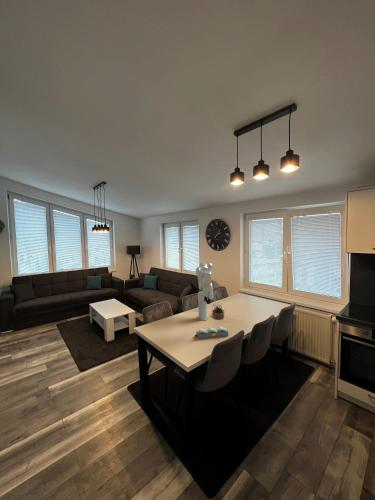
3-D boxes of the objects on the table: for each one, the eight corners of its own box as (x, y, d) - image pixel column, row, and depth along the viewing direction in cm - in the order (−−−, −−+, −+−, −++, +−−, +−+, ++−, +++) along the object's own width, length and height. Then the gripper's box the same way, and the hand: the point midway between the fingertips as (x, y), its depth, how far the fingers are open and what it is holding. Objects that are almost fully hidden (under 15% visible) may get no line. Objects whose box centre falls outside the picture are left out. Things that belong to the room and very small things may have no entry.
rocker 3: (217, 327, 193) (217, 325, 193) (224, 329, 195) (225, 328, 195) (219, 329, 189) (219, 327, 190) (226, 331, 191) (227, 329, 192)
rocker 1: (198, 329, 189) (198, 327, 189) (205, 331, 191) (206, 330, 191) (199, 331, 185) (200, 329, 185) (207, 333, 187) (207, 331, 187)
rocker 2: (207, 328, 191) (208, 326, 191) (215, 330, 193) (215, 329, 193) (209, 330, 187) (210, 328, 187) (217, 332, 189) (217, 330, 189)
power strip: (193, 335, 190) (193, 330, 190) (224, 332, 198) (225, 327, 198) (195, 339, 184) (196, 333, 183) (228, 335, 191) (228, 330, 191)
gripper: (200, 283, 209) (200, 300, 210) (206, 286, 192) (206, 305, 193) (207, 282, 211) (207, 299, 212) (214, 286, 194) (213, 304, 195)
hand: (207, 302), depth 202 cm, fingers open, 7 cm apart
